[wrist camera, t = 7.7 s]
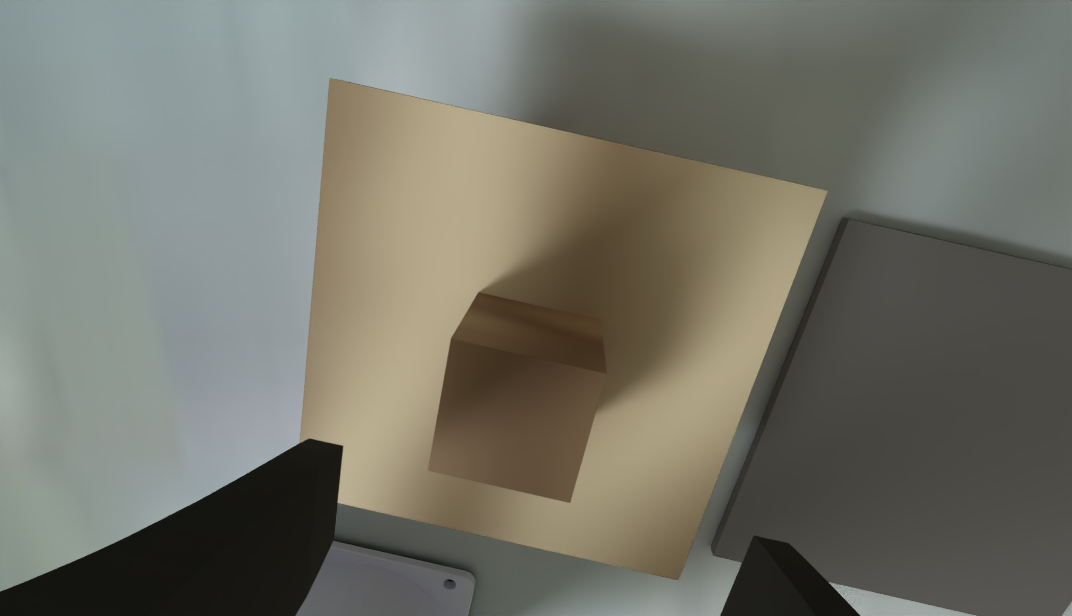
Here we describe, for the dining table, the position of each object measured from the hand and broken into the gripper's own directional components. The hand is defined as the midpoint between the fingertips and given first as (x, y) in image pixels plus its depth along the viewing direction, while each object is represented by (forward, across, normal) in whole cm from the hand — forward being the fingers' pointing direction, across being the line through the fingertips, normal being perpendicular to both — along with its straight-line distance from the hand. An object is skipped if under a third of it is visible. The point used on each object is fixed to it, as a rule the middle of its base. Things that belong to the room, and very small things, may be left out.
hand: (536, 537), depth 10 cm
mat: (+10, -14, +1) cm, 17 cm away
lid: (+5, +1, -1) cm, 5 cm away
